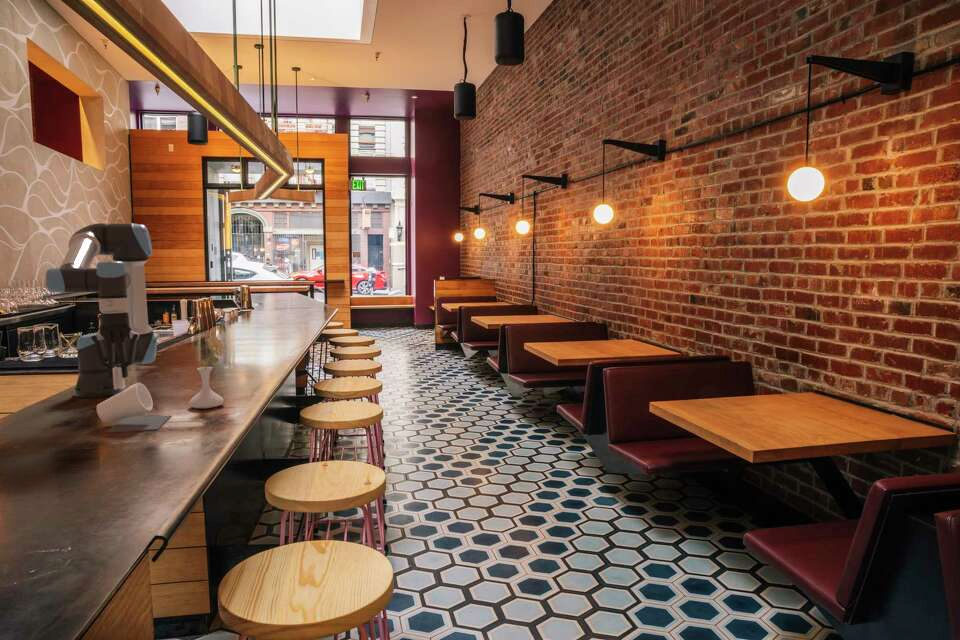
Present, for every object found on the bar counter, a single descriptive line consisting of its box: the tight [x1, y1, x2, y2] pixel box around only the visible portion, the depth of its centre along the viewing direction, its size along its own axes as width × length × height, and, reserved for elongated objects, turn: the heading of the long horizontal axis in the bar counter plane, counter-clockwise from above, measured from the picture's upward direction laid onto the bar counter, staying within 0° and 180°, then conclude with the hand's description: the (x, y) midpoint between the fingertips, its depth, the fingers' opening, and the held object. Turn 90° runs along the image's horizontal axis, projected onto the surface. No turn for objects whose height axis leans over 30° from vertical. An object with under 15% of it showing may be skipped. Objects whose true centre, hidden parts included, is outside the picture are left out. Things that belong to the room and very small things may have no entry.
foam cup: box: [96, 382, 154, 424], centre depth 189 cm, size 10×9×13 cm
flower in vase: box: [187, 334, 226, 409], centre depth 212 cm, size 13×11×25 cm
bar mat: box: [105, 414, 172, 434], centre depth 191 cm, size 16×14×1 cm
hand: (119, 388), depth 188 cm, fingers closed
